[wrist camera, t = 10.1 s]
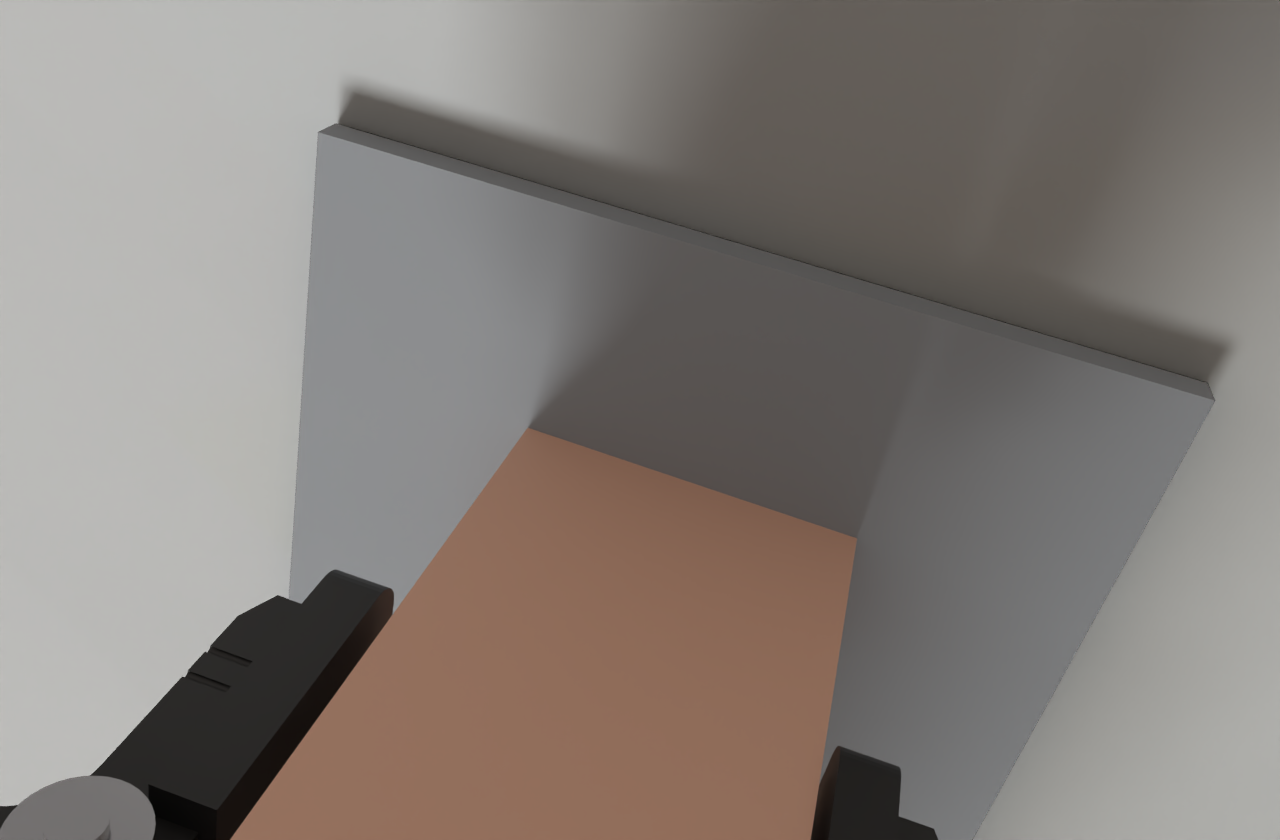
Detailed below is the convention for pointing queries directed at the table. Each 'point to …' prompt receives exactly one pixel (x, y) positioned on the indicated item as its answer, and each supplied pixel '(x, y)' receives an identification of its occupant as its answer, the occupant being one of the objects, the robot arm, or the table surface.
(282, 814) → the terracotta tile
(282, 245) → the table surface
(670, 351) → the slate mat
